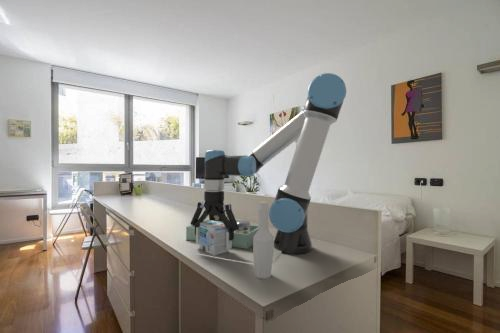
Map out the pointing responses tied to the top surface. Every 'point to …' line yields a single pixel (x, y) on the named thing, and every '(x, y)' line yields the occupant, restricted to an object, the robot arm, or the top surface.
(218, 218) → the coffee mug
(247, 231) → the tin can
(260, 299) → the top surface
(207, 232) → the light bulb box
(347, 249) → the top surface
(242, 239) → the box
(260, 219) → the low poly bottle
